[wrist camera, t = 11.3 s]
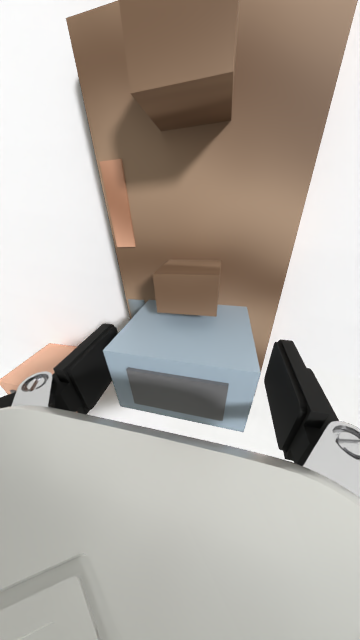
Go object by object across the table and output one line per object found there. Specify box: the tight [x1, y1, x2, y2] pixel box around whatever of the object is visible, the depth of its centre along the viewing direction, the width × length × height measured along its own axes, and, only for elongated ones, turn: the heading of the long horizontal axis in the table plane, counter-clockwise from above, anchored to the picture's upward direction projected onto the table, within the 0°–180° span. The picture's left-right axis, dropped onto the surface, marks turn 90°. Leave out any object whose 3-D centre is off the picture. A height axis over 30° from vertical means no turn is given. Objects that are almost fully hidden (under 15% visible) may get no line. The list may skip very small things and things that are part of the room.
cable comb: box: [66, 0, 358, 396], centre depth 10 cm, size 20×10×4 cm, turn 3°
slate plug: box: [103, 300, 261, 432], centre depth 10 cm, size 4×6×6 cm, turn 91°
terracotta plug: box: [0, 343, 77, 412], centre depth 18 cm, size 4×6×6 cm, turn 92°
